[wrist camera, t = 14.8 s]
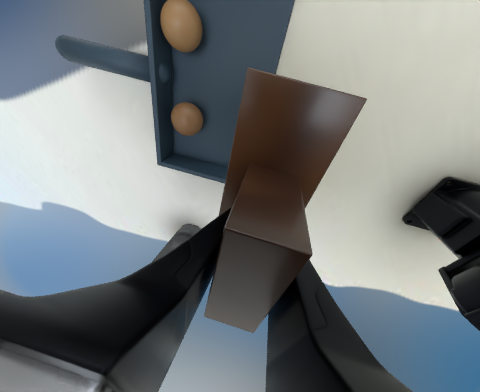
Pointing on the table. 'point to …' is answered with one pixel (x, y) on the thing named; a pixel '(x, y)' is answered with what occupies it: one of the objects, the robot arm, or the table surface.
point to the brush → (273, 190)
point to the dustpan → (197, 74)
